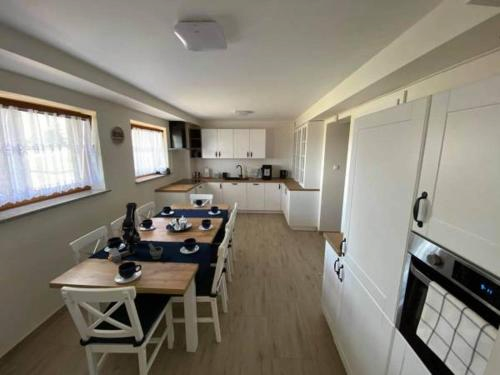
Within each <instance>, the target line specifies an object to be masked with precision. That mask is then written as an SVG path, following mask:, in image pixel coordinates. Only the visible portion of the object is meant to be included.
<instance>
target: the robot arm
mask: <svg viewBox="0 0 500 375" xmlns="http://www.w3.org/2000/svg"><path fill="white" fill-rule="evenodd" d="M125 208H126V214H125V218H124V219H123V221H122V224H121V226H122V227H121V232H123V234H122V236H121V238H122V243H123V244H124V246H125V247H126V249H127V251H128V250H129V252H130V253H132V251H133V249H135V248H137V247H138V245H140V243H139V242H141V240H142V238H141V236H140V233H139V230H138V229H137V226H136V210H137V208H138V203H136V202H128V203H126V204H125ZM137 244H138V245H137Z"/></svg>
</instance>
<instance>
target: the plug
mask: <svg viewBox="0 0 500 375" xmlns="http://www.w3.org/2000/svg"><path fill="white" fill-rule="evenodd" d="M119 253H120V254H121V258H124V257H128V256H131V255H134V254H136V251H135V248H133V251H132V253H130V252H129V250H128V249H127V250H125V251H122V252H119ZM107 258H108V260H110V261H111V262H113V259H112V255H111V254H109V255H108V256H107Z"/></svg>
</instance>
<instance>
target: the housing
mask: <svg viewBox="0 0 500 375" xmlns="http://www.w3.org/2000/svg"><path fill="white" fill-rule="evenodd" d="M108 252H109V253H108V254H109V255H110V254H111V255H112V259H113V261H112V263H113V264H116V263H119V262H122V257H121V254H120V253H121V252H120V251H119V250H118V249H117V247H113V248H110V249H108Z"/></svg>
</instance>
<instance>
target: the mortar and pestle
mask: <svg viewBox="0 0 500 375" xmlns="http://www.w3.org/2000/svg"><path fill="white" fill-rule="evenodd" d="M148 246H149V248H150V249H149V254H150V256H151V257H152V259H153V260H158V259H161V258H162V256H161V255H162V253H163V251H164V248H163V247H161V246H154V245H153V243H151V242H150V243H149V244H148Z"/></svg>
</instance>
